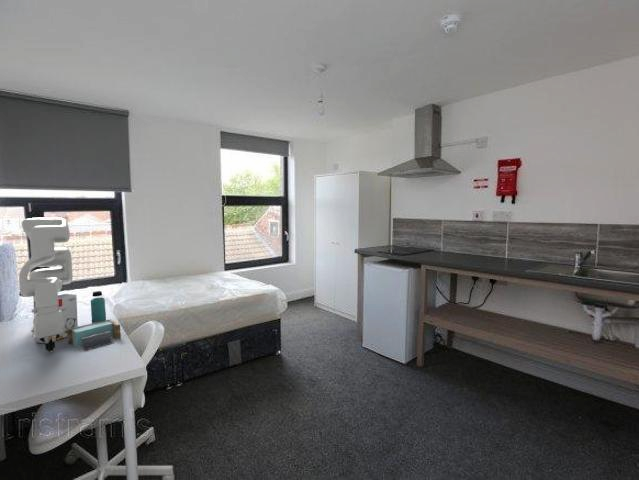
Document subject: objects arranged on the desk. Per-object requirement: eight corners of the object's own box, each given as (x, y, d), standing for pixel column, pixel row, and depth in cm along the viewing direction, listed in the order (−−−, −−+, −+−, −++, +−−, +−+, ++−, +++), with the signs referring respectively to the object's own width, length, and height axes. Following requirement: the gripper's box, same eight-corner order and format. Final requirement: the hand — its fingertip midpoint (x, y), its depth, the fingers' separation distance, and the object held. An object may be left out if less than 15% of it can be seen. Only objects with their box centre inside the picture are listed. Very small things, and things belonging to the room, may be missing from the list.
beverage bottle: (109, 327, 172) (107, 290, 171) (97, 331, 166) (95, 293, 164) (100, 325, 174) (99, 289, 173) (88, 330, 168) (86, 292, 166)
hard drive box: (48, 344, 150) (45, 302, 148) (34, 342, 152) (31, 301, 150) (79, 332, 165) (76, 294, 164) (66, 331, 167) (64, 293, 165)
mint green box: (72, 344, 151) (71, 329, 150) (108, 334, 163) (108, 321, 162) (76, 347, 147) (76, 332, 147) (113, 337, 159) (112, 323, 159)
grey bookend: (82, 347, 147) (82, 337, 146) (109, 340, 155) (109, 331, 155) (86, 350, 143) (85, 341, 143) (114, 343, 152) (113, 333, 151)
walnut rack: (67, 343, 151) (67, 329, 150) (111, 332, 165) (110, 319, 164) (75, 350, 143) (75, 335, 143) (120, 338, 157) (120, 324, 156)
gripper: (26, 315, 131) (29, 359, 133) (71, 307, 143) (73, 347, 144) (22, 311, 136) (25, 353, 137) (66, 304, 147) (68, 342, 149)
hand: (50, 350), depth 141 cm, fingers closed
